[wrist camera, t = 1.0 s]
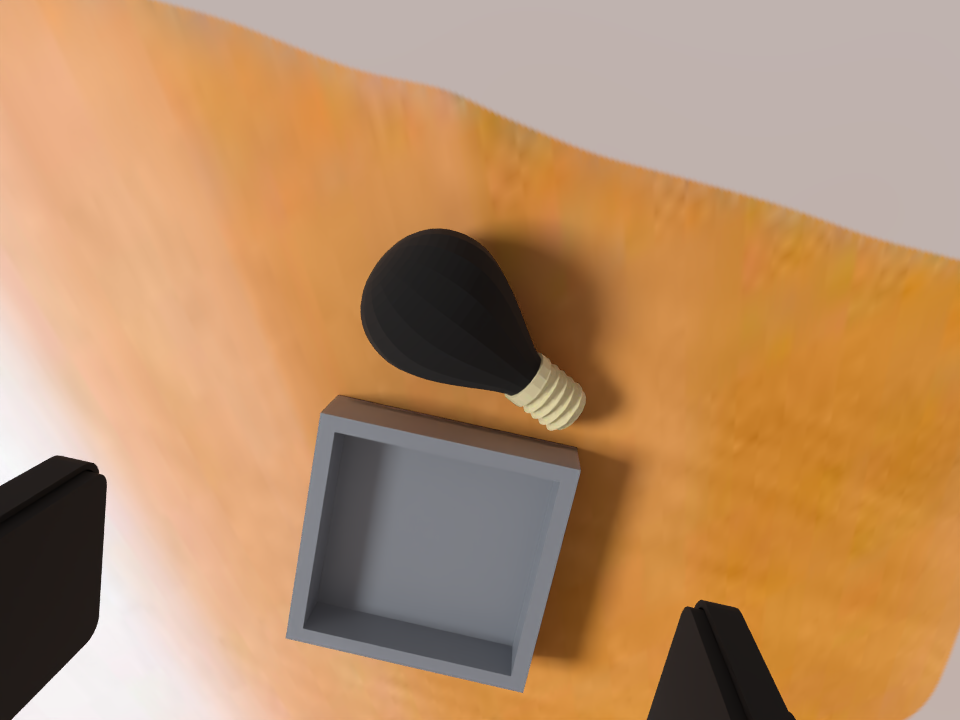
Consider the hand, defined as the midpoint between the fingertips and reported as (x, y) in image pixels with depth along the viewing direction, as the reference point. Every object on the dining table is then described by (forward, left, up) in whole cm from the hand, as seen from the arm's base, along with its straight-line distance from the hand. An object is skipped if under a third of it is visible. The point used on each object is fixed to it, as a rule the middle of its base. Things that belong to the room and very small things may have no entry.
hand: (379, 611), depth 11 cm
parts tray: (-11, 0, -24) cm, 26 cm away
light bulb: (0, 0, -24) cm, 24 cm away
